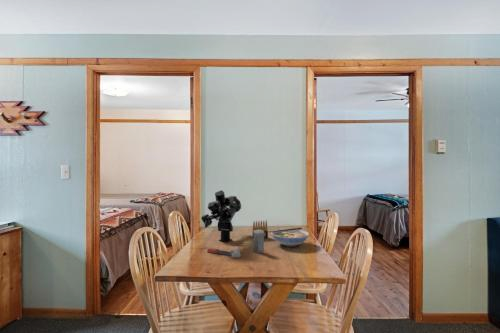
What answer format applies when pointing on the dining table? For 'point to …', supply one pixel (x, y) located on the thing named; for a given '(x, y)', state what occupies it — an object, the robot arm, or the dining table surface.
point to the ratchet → (225, 252)
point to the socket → (258, 241)
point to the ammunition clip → (260, 228)
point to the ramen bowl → (290, 236)
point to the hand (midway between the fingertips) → (212, 224)
